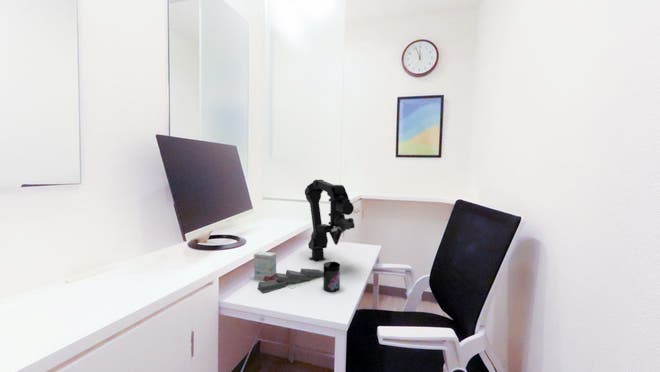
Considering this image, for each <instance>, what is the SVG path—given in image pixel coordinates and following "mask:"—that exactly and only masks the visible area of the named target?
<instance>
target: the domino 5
mask: <svg viewBox="0 0 660 372" xmlns="http://www.w3.org/2000/svg"><path fill="white" fill-rule="evenodd" d="M320 270H321V269H313V268H301V269H300V271H299V272H301V273H303V274H304V275H306V276H322V277H323V272H322V271H320Z"/></svg>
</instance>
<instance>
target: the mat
mask: <svg viewBox="0 0 660 372" xmlns="http://www.w3.org/2000/svg"><path fill="white" fill-rule="evenodd" d="M319 270H320V271H322V272H323V271H324V269H319ZM311 277H312V278H311V281H307V280H302V279H301V283H294V282H286V287H288V288H290V289H295V288H297V287H298V288H299V287H301V286H305V285H308V284H311V283H315V282H318V281H322V280H323V277H322V276H311Z"/></svg>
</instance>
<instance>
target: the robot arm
mask: <svg viewBox="0 0 660 372" xmlns="http://www.w3.org/2000/svg"><path fill="white" fill-rule="evenodd" d="M323 192H325V193H326V194H327V196H328V197H330V198H329V199H328V202H330V207H329V208H330V209H329V210H330V213H328V217H330V219H329V222H328V224H326V223H324V224H323V223H322V217H321V216H322V215H321V208H320V200H321V198H322V193H323ZM304 194H305V199H306V200H307V202H308V203H309V205H310V213H311V222H312V233H311V235H310V241H309V242H308V249H309V250H311V256H310V257H309V260H311V261H314V262H316V263H317V262H321V261H325V260H326V258H325V256H324V255H325V254H324V253H325V252H324V249H327V247H328V242H329V239H328V234H329V235H330V237H331V239H332V241H333V243H334V245H335V246H337V245H339V241H340V239H341V237H342V234H343V233H344V232H346V230H347V231H348V230H350V229H355V223H354V218H352V217H349V218H346V216H349V215H352V214H353V212H354V210H355V209H354V204H353V203H352V202H351V200H350V198H349V195H348V192H347V190H346V188H345V186H344V185H343V184H333V183H330V182H328V181H326V180H323V179H314V180H313V181H312V182H311V183H309V185H307V186H306V188H305V189H304ZM345 215H346V216H345ZM327 233H328V234H327Z"/></svg>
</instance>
